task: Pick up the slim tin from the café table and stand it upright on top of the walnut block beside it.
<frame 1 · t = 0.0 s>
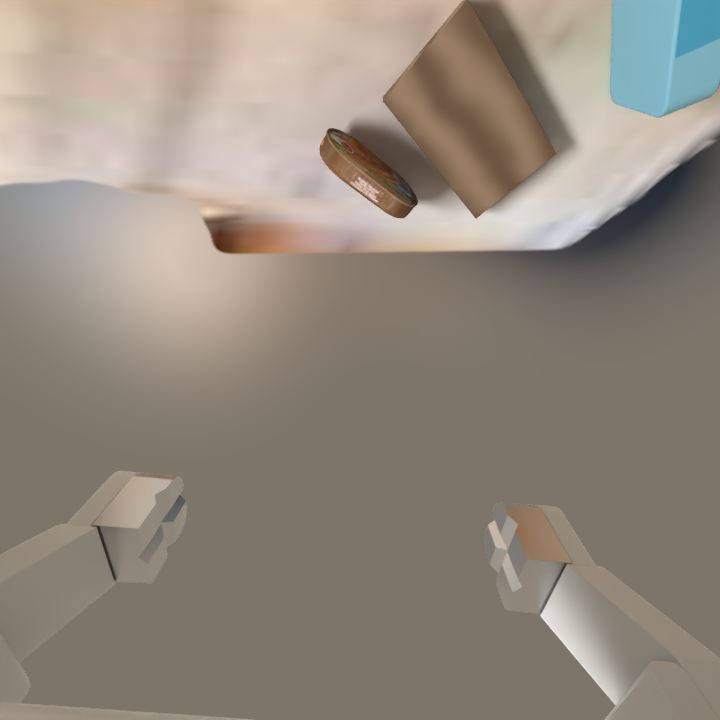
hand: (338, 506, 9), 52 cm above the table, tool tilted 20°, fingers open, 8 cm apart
walnut block: (466, 121, 47), on the table
tin: (370, 166, 51), on the table
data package: (632, 33, 40), on the table
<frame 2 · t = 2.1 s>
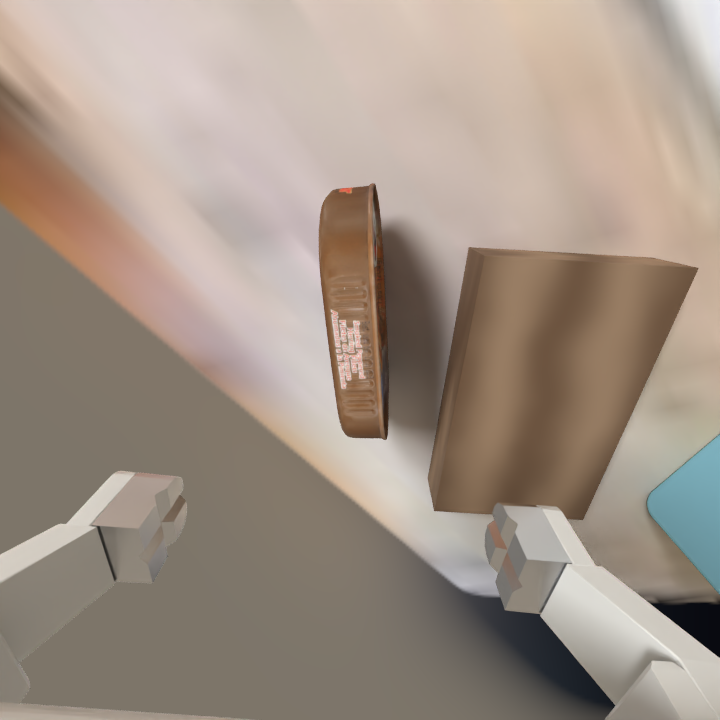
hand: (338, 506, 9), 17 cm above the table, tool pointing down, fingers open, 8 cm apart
walnut block: (520, 382, 28), on the table
tin: (363, 304, 25), on the table
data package: (708, 464, 30), on the table
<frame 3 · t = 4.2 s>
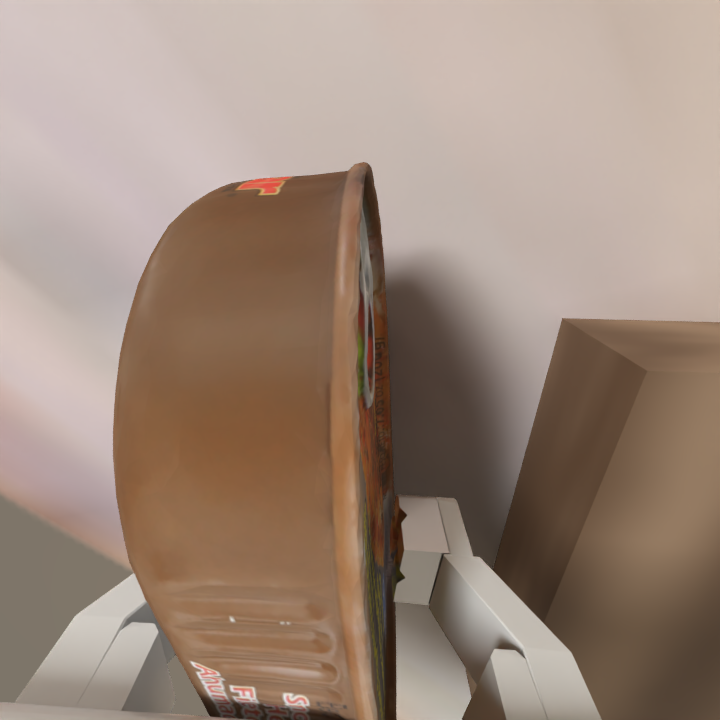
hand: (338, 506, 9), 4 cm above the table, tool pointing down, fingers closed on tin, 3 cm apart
walnut block: (634, 538, 15), on the table
tin: (346, 416, 13), on the table, touching gripper
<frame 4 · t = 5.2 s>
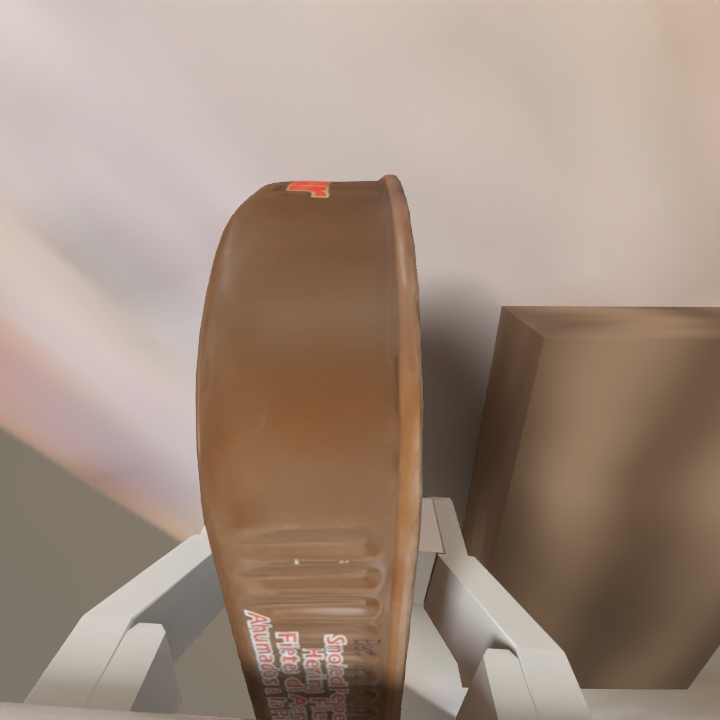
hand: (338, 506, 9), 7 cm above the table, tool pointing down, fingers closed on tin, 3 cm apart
walnut block: (581, 490, 18), on the table
tin: (333, 408, 13), point 2 cm above the table, touching gripper
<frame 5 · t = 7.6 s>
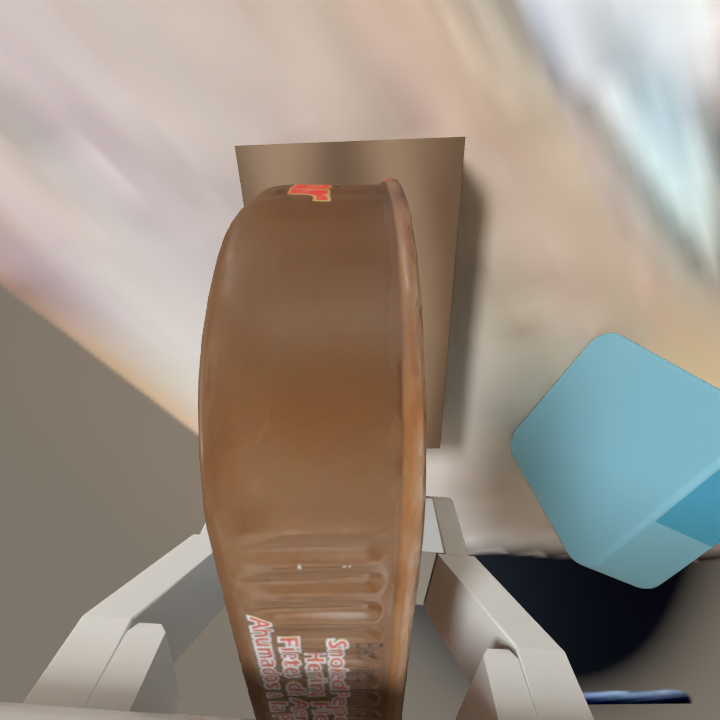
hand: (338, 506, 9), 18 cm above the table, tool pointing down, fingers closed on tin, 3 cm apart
walnut block: (357, 306, 26), on the table
tin: (331, 410, 13), point 14 cm above the table, touching gripper
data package: (569, 398, 29), on the table
when the fingers open (9 cm above the table, at t = 9.8 s): tin drops 1 cm, resting on walnut block.
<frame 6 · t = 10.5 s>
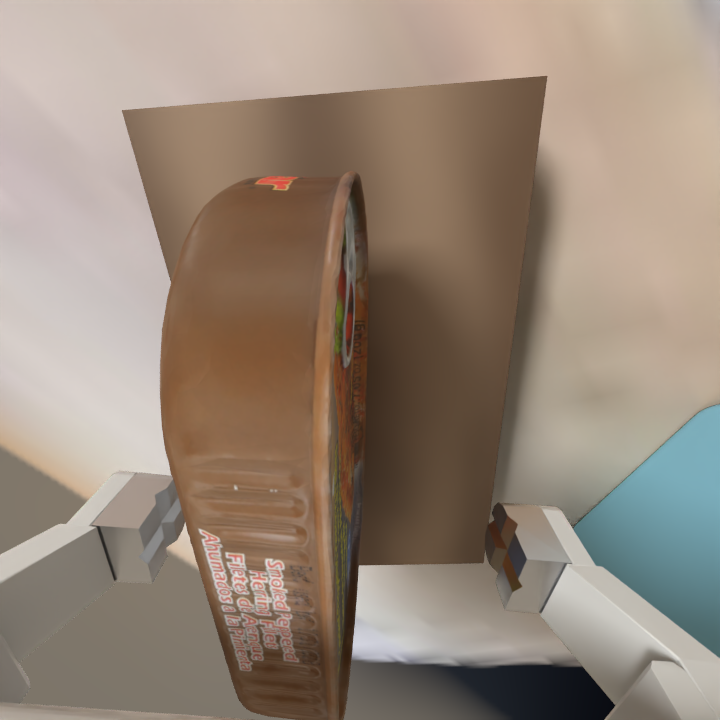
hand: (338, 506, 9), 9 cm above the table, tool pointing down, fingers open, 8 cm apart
walnut block: (356, 358, 18), on the table, touching tin
tin: (327, 390, 14), point 3 cm above the table, touching walnut block
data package: (656, 483, 20), on the table
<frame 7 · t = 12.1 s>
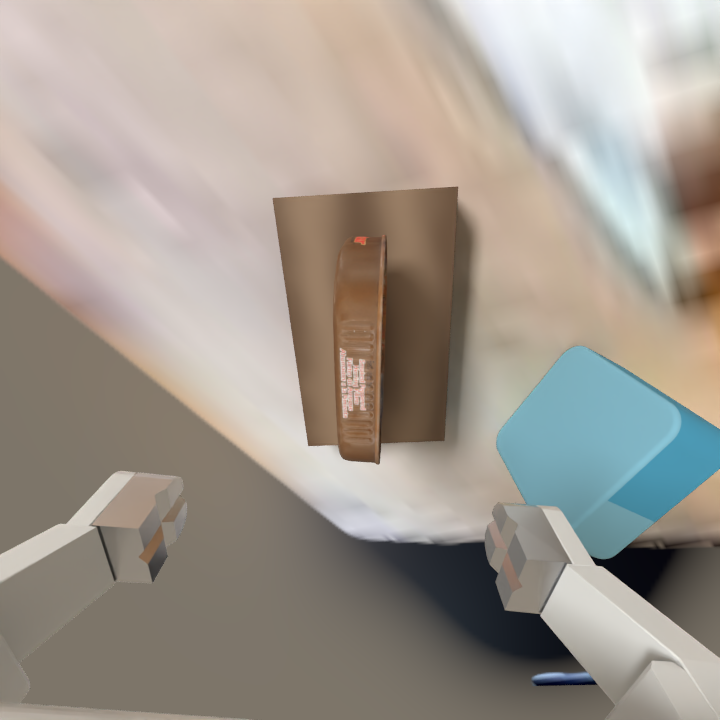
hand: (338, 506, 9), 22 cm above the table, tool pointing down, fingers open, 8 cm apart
walnut block: (370, 320, 30), on the table, touching tin
tin: (364, 334, 27), point 3 cm above the table, touching walnut block
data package: (547, 401, 33), on the table
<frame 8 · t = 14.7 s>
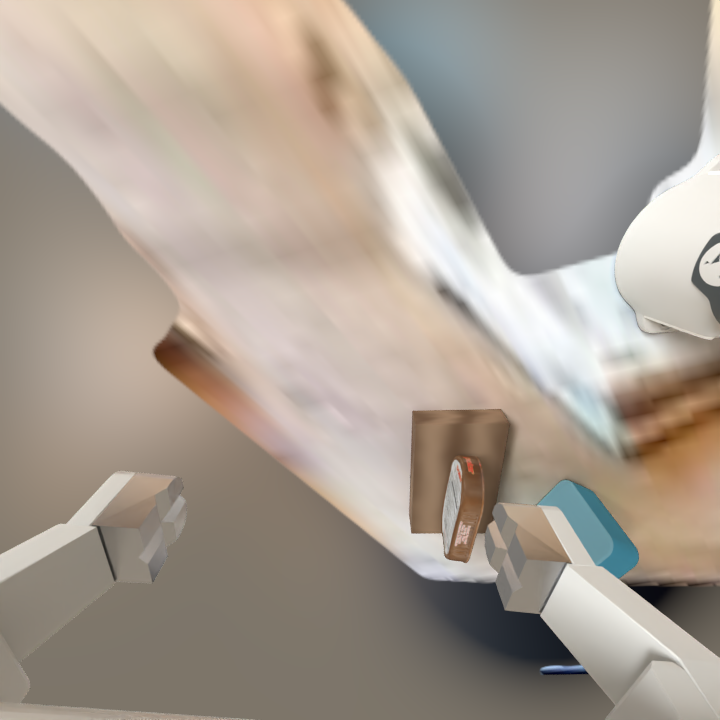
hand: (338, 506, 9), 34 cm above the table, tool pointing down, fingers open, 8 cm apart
walnut block: (450, 463, 53), on the table, touching tin
tin: (453, 483, 49), point 3 cm above the table, touching walnut block
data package: (550, 504, 55), on the table
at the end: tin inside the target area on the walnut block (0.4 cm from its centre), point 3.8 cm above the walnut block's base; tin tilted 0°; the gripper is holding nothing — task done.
